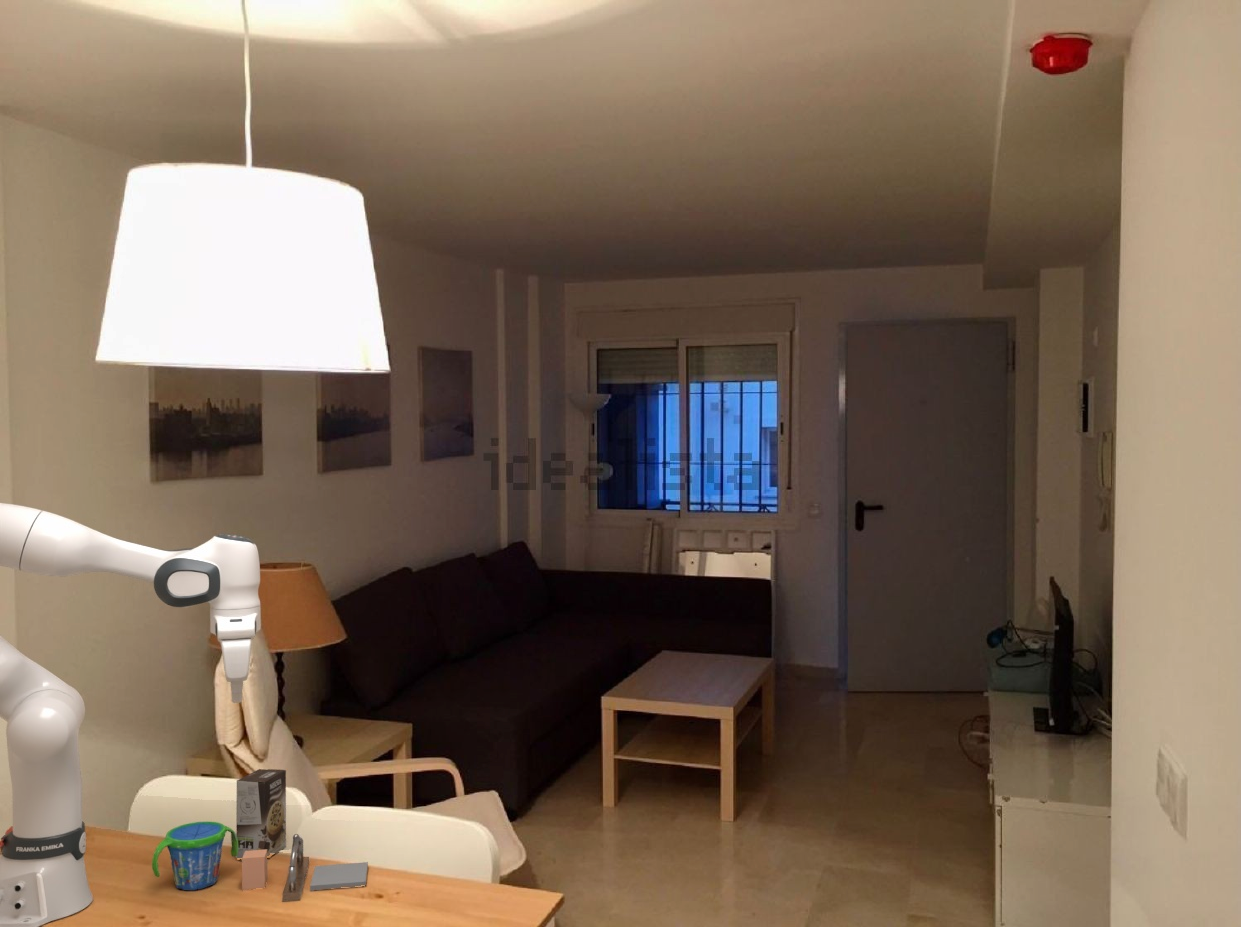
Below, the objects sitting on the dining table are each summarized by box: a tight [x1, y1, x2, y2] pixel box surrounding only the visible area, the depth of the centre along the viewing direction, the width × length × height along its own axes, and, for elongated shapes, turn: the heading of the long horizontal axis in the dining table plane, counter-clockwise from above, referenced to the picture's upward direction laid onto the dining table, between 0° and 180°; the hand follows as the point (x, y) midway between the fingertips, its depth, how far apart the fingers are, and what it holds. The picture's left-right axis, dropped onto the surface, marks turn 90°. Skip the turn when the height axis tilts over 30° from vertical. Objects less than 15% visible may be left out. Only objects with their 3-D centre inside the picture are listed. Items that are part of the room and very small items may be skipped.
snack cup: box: [151, 821, 238, 891], centre depth 202 cm, size 16×10×10 cm
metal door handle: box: [281, 833, 310, 903], centre depth 203 cm, size 3×18×9 cm, turn 11°
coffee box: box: [235, 768, 287, 859], centre depth 218 cm, size 9×6×16 cm
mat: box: [309, 861, 369, 892], centre depth 205 cm, size 10×10×1 cm
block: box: [241, 849, 268, 891], centre depth 202 cm, size 4×4×6 cm
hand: (236, 696), depth 199 cm, fingers open, 8 cm apart
